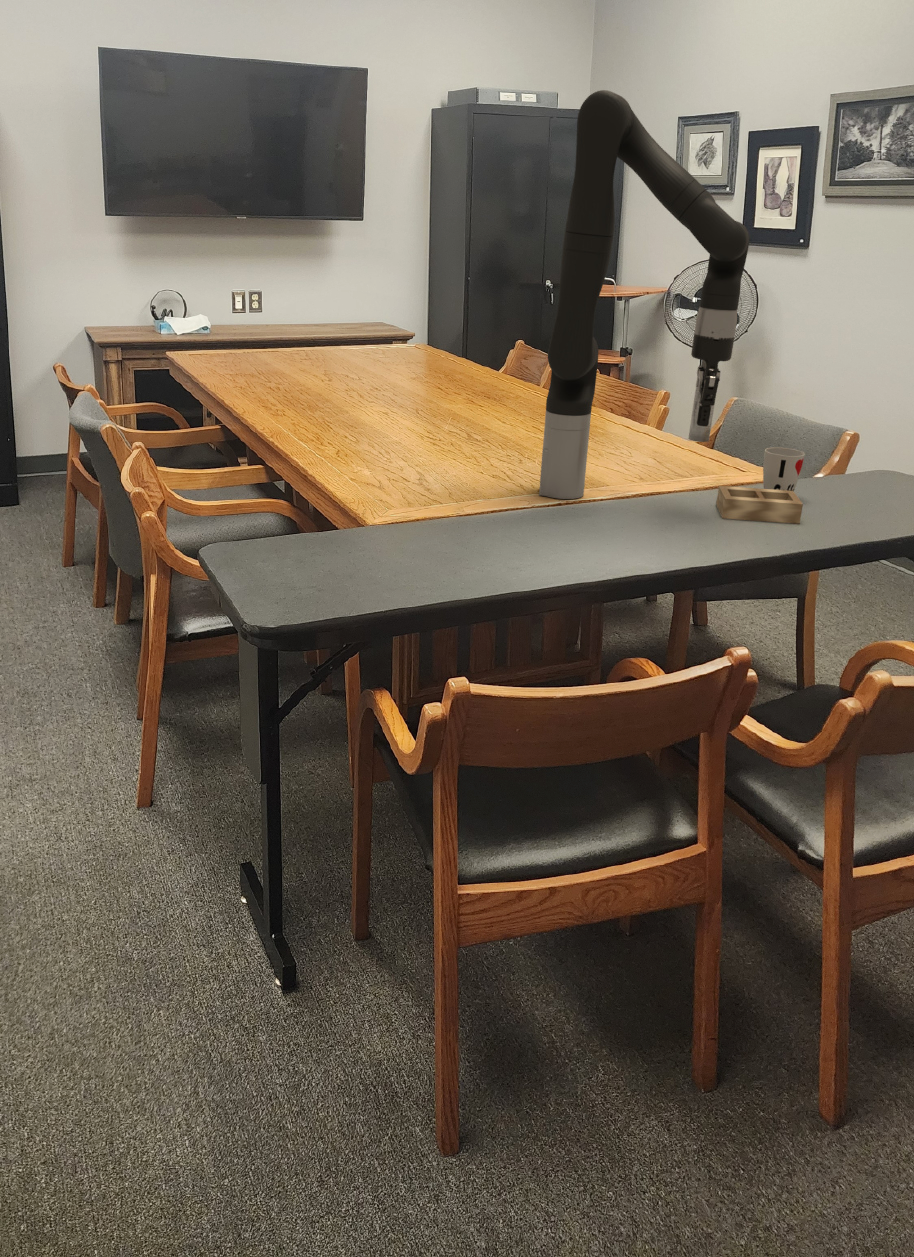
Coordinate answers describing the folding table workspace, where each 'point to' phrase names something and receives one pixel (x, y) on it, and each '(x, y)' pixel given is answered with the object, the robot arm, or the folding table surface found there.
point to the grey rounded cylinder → (696, 431)
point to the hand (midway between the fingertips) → (701, 422)
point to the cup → (782, 468)
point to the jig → (759, 504)
